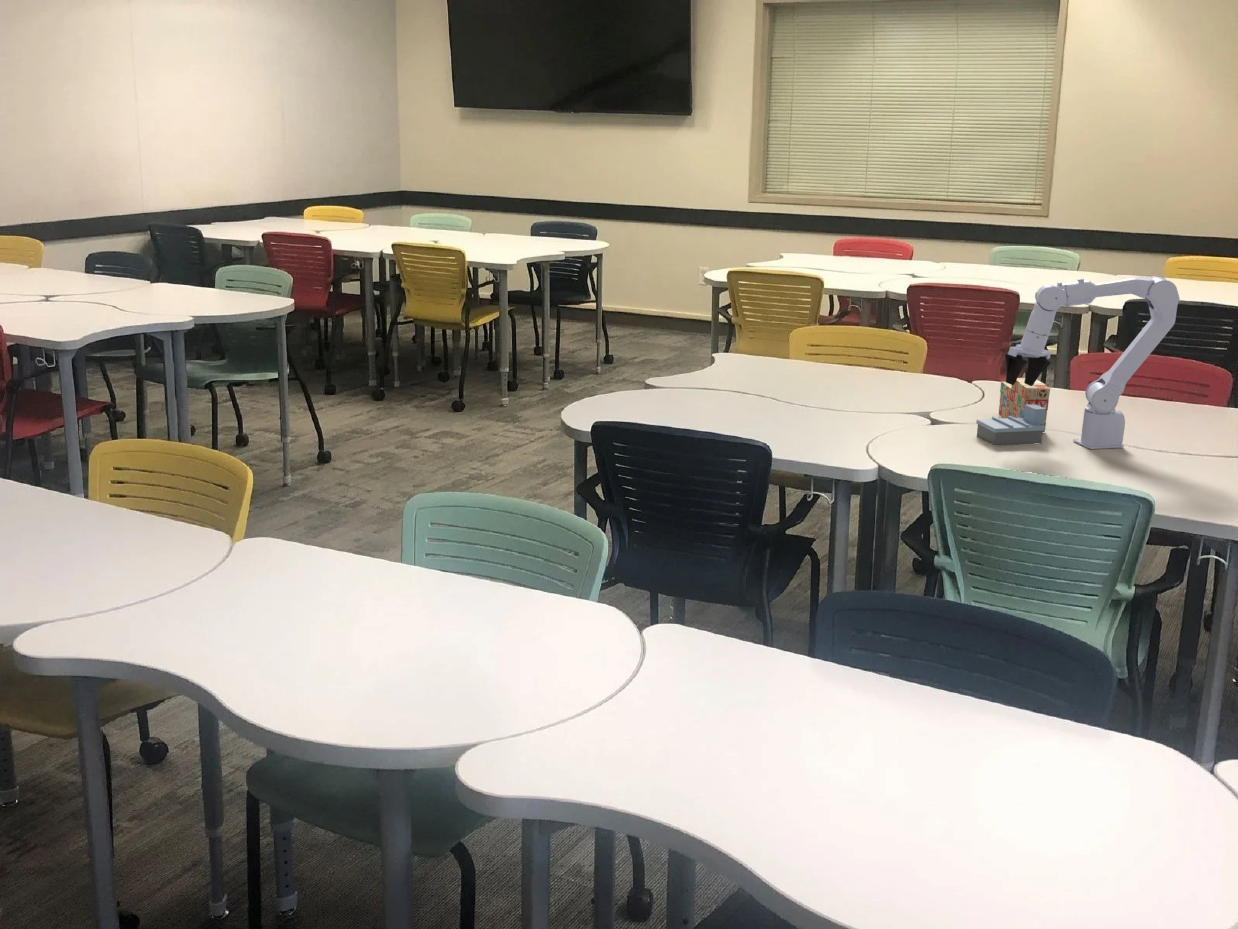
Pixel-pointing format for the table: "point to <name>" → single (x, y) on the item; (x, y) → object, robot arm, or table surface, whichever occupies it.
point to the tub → (1009, 437)
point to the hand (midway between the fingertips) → (1019, 384)
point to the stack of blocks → (1022, 398)
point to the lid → (1017, 421)
